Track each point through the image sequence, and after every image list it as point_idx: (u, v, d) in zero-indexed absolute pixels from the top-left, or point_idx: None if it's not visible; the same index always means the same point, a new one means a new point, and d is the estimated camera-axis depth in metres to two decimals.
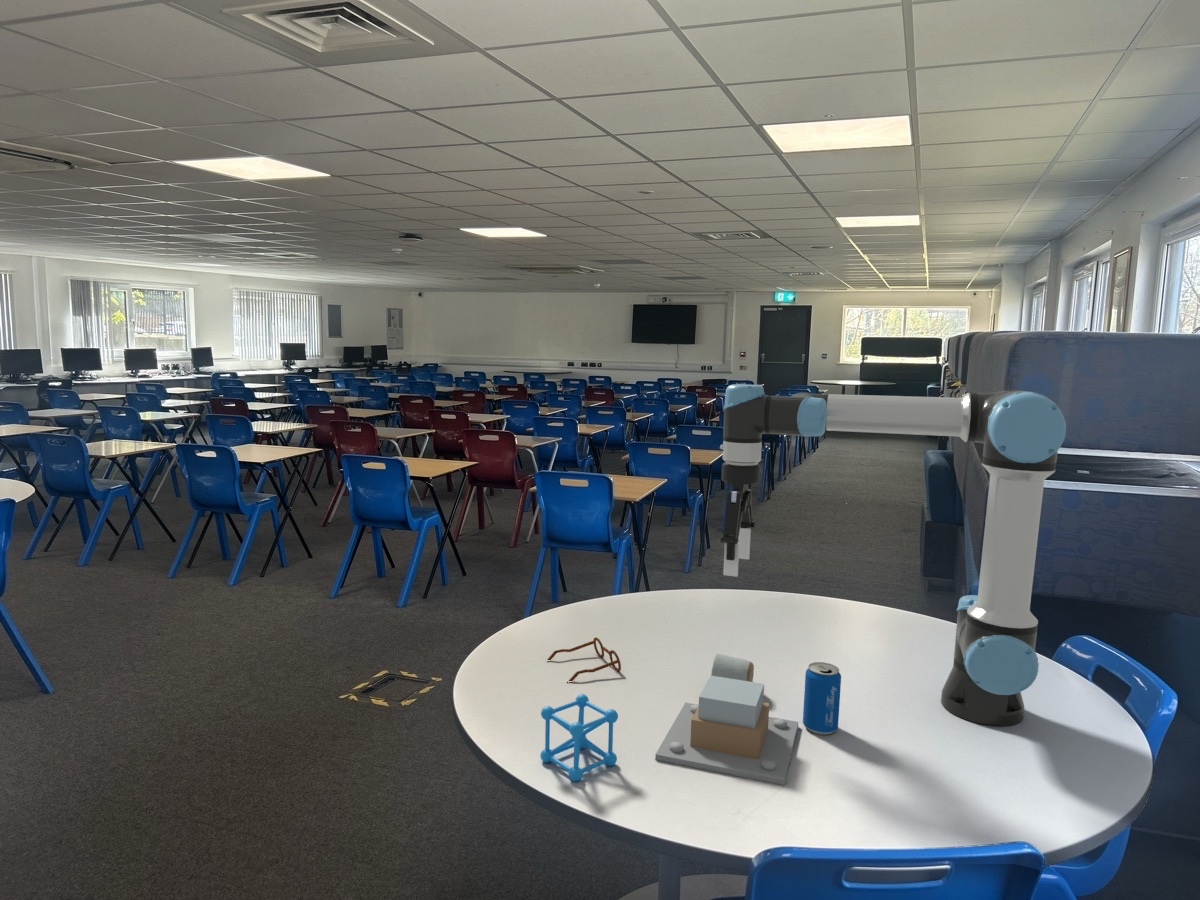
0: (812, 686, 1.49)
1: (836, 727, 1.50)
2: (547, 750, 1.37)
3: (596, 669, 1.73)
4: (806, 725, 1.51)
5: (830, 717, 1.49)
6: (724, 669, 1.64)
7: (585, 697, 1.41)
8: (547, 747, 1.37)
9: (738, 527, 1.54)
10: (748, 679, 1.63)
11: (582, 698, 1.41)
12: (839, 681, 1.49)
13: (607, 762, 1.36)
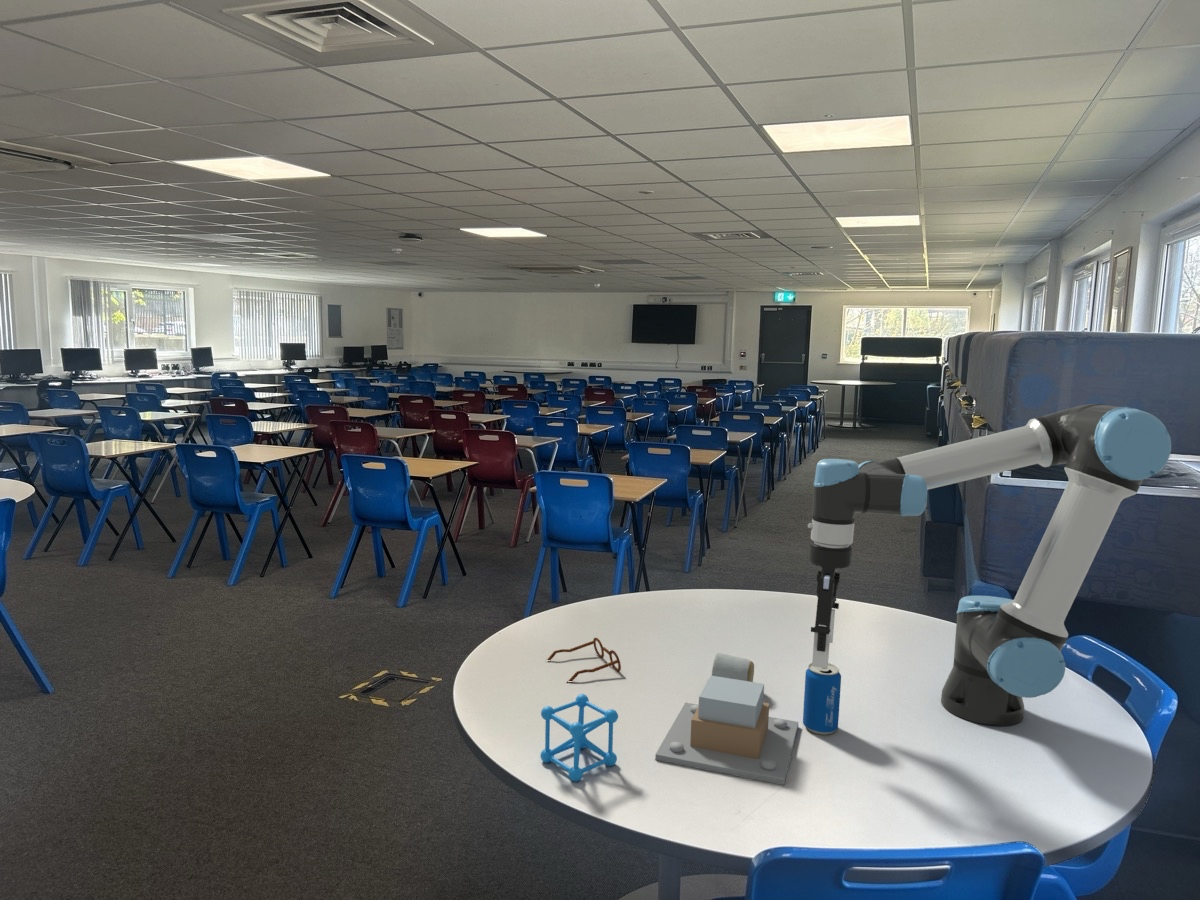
0: (812, 686, 1.49)
1: (836, 727, 1.50)
2: (547, 750, 1.37)
3: (596, 669, 1.73)
4: (806, 725, 1.51)
5: (830, 717, 1.49)
6: (724, 668, 1.65)
7: (585, 697, 1.41)
8: (547, 747, 1.37)
9: None
10: (748, 678, 1.63)
11: (582, 698, 1.41)
12: (839, 681, 1.49)
13: (607, 762, 1.36)
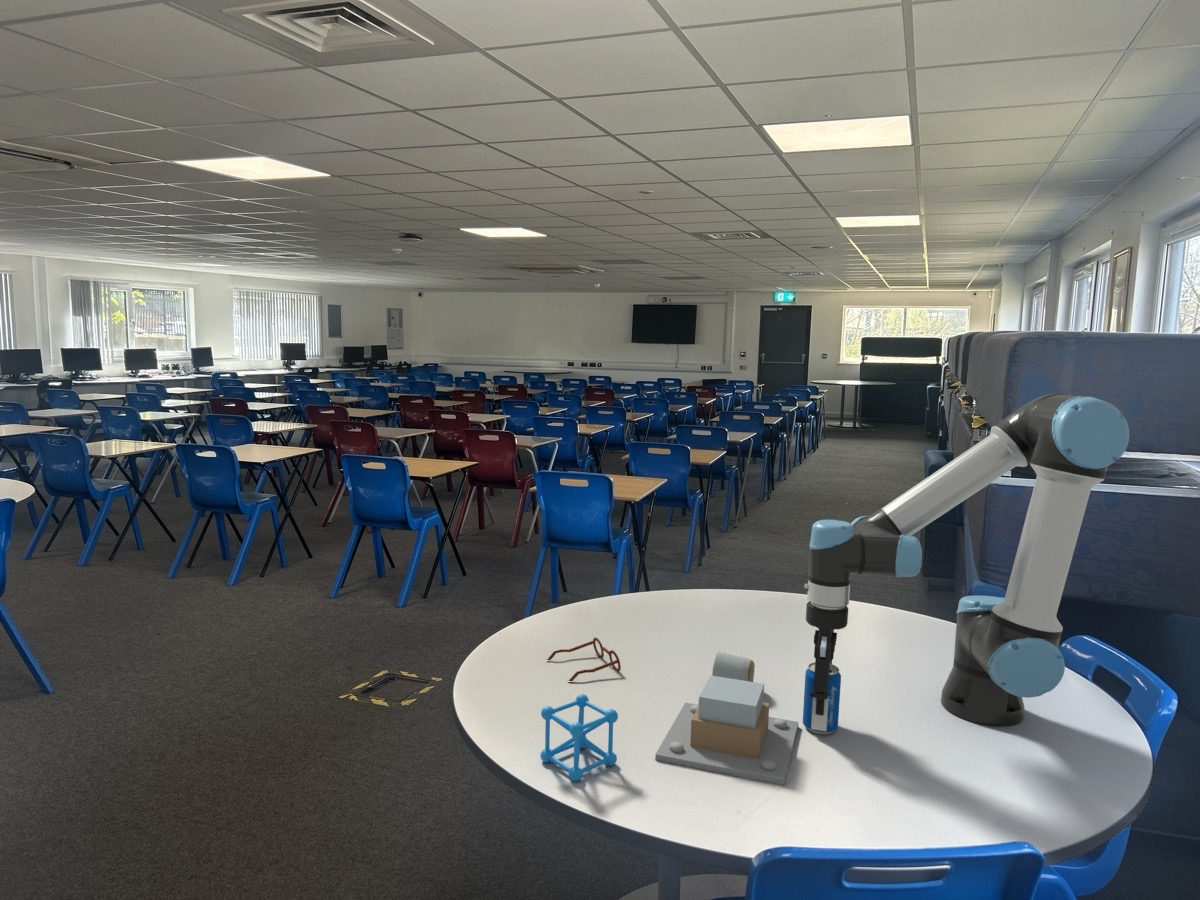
0: (812, 686, 1.49)
1: (836, 727, 1.50)
2: (547, 750, 1.37)
3: (596, 669, 1.73)
4: (806, 725, 1.51)
5: (830, 717, 1.49)
6: (725, 667, 1.65)
7: (585, 697, 1.41)
8: (547, 747, 1.37)
9: (827, 681, 1.46)
10: (749, 677, 1.64)
11: (582, 698, 1.41)
12: (839, 681, 1.49)
13: (607, 762, 1.36)
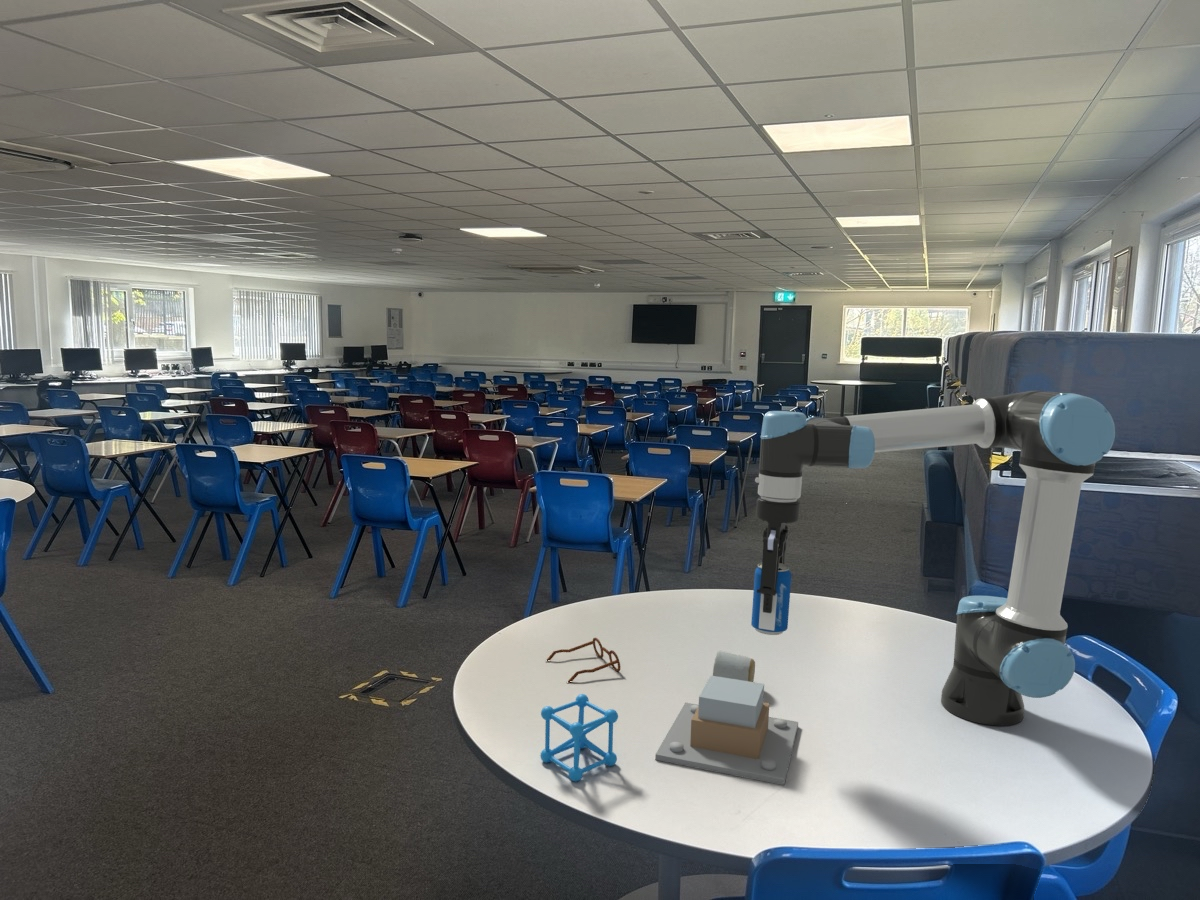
0: None
1: (785, 628, 1.44)
2: (547, 750, 1.37)
3: (596, 669, 1.73)
4: (754, 625, 1.44)
5: (779, 616, 1.42)
6: (726, 666, 1.66)
7: (585, 697, 1.41)
8: (547, 747, 1.37)
9: (776, 577, 1.40)
10: (749, 676, 1.64)
11: (582, 698, 1.41)
12: (789, 579, 1.42)
13: (607, 762, 1.36)
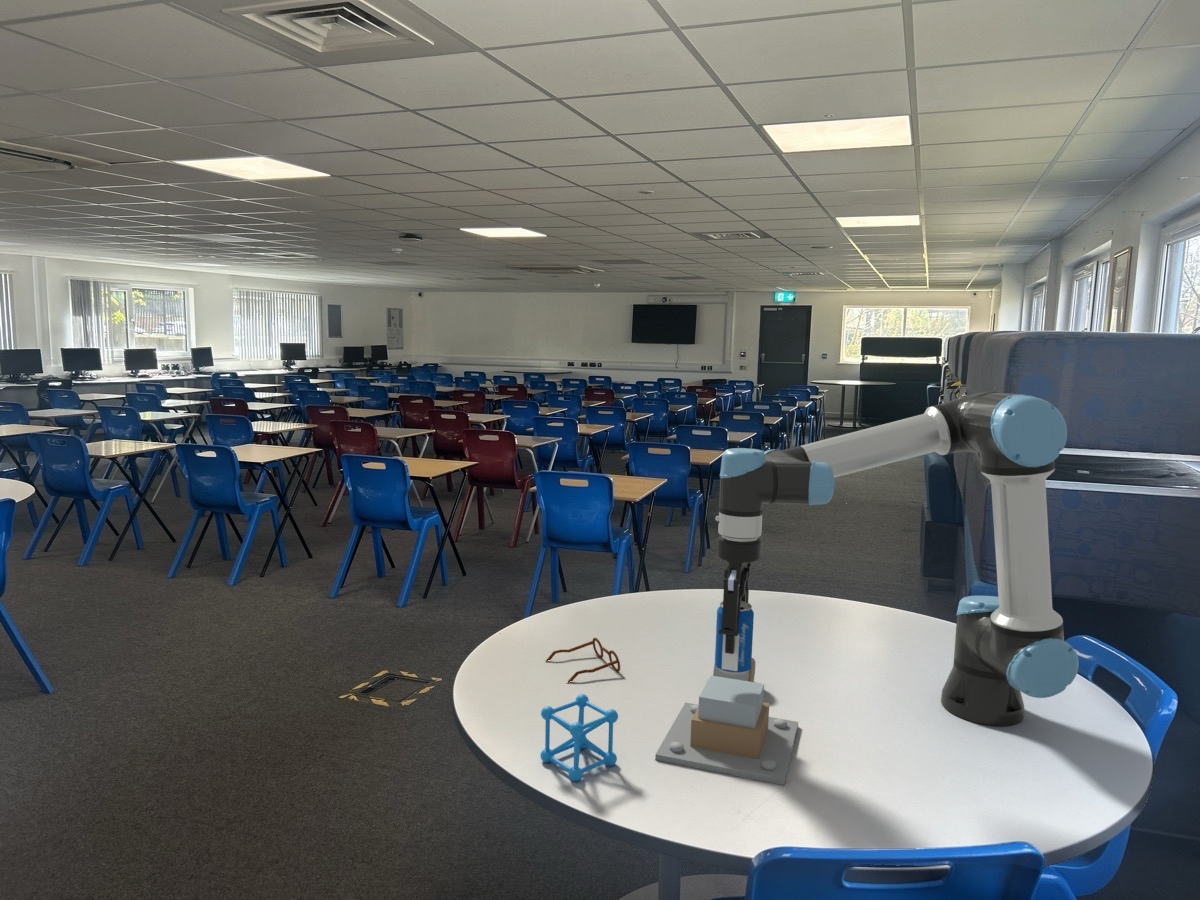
0: None
1: (748, 667, 1.42)
2: (547, 750, 1.37)
3: (595, 669, 1.73)
4: (717, 665, 1.43)
5: (741, 657, 1.40)
6: None
7: (585, 697, 1.41)
8: (547, 747, 1.37)
9: (737, 617, 1.38)
10: (750, 675, 1.65)
11: (582, 698, 1.41)
12: (751, 618, 1.41)
13: (607, 762, 1.36)
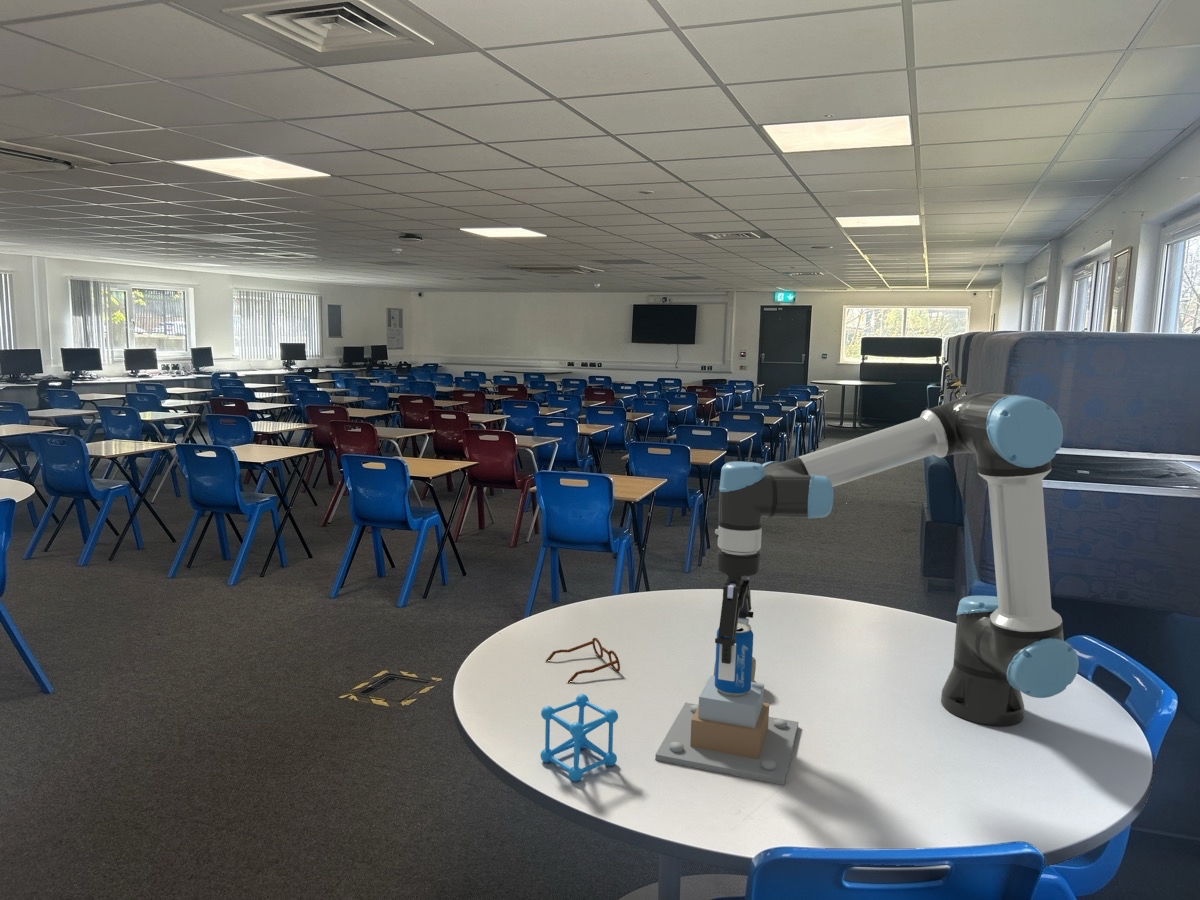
0: None
1: (748, 688, 1.42)
2: (547, 750, 1.37)
3: (595, 669, 1.73)
4: (717, 686, 1.43)
5: (741, 678, 1.41)
6: None
7: (585, 697, 1.41)
8: (547, 747, 1.37)
9: (735, 626, 1.36)
10: None
11: (582, 698, 1.41)
12: (750, 639, 1.41)
13: (607, 762, 1.36)
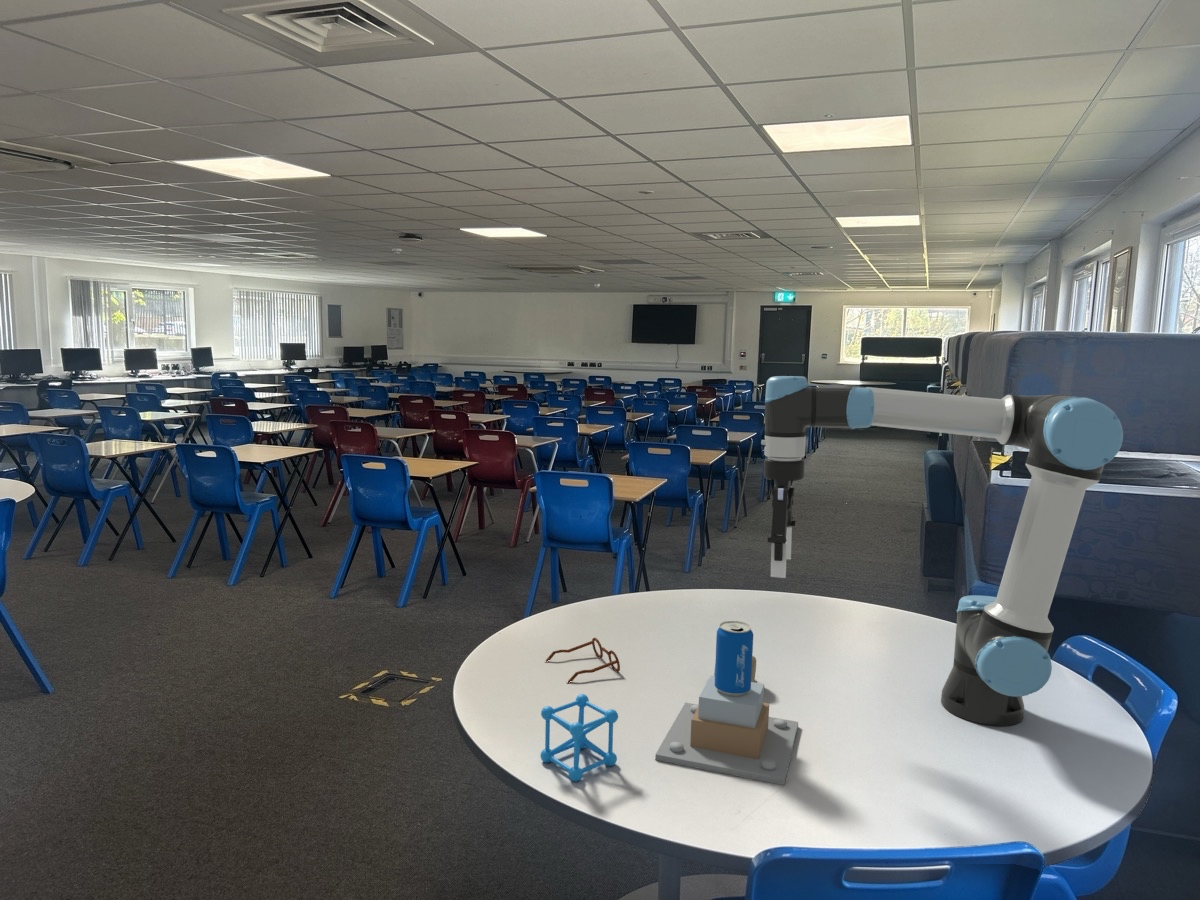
0: (722, 645, 1.41)
1: (748, 688, 1.42)
2: (547, 750, 1.37)
3: (595, 669, 1.73)
4: (717, 686, 1.43)
5: (741, 678, 1.41)
6: None
7: (585, 697, 1.41)
8: (547, 747, 1.37)
9: (785, 526, 1.46)
10: None
11: (582, 698, 1.41)
12: (750, 639, 1.41)
13: (607, 762, 1.36)
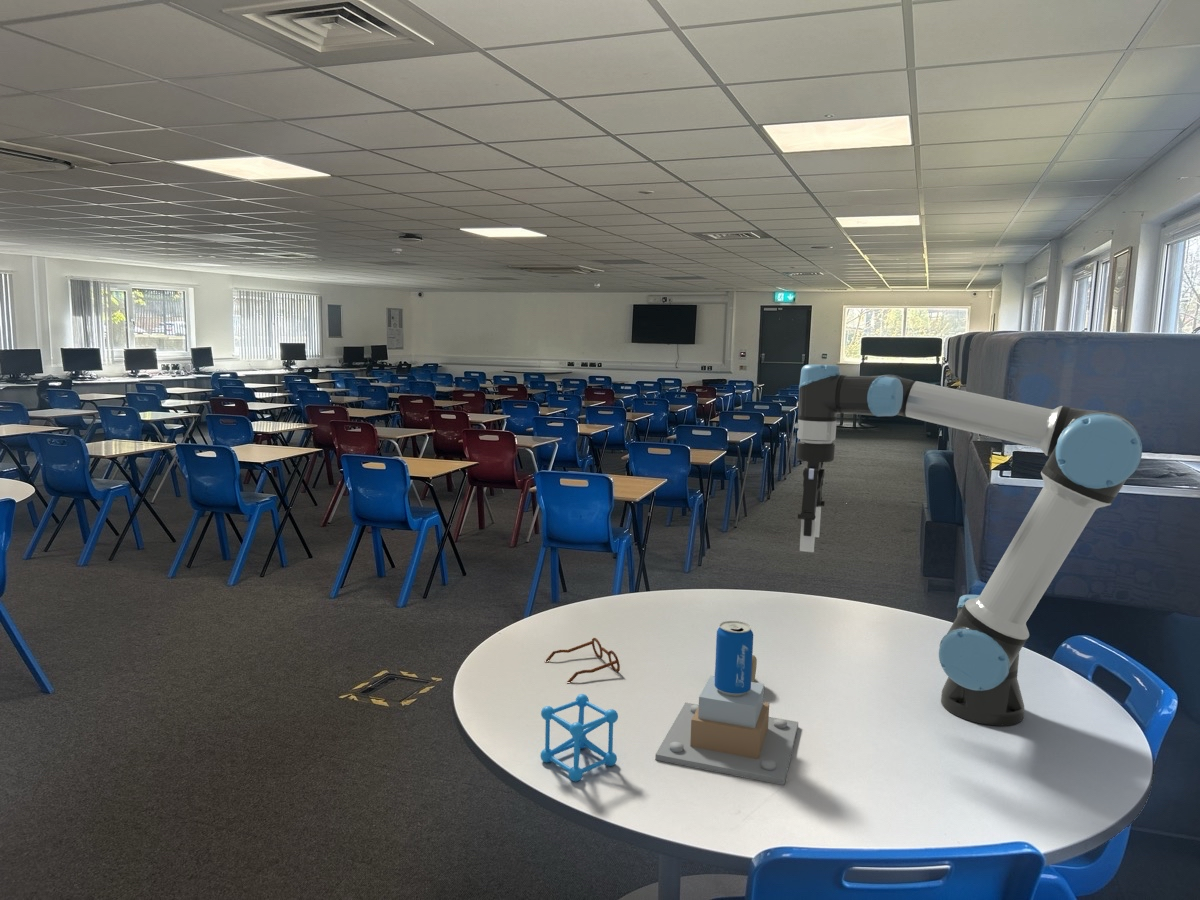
0: (722, 645, 1.41)
1: (748, 688, 1.42)
2: (547, 750, 1.37)
3: (595, 669, 1.73)
4: (717, 686, 1.43)
5: (741, 678, 1.41)
6: None
7: (585, 697, 1.41)
8: (547, 747, 1.37)
9: (815, 504, 1.57)
10: None
11: (582, 698, 1.41)
12: (750, 639, 1.41)
13: (607, 762, 1.36)
